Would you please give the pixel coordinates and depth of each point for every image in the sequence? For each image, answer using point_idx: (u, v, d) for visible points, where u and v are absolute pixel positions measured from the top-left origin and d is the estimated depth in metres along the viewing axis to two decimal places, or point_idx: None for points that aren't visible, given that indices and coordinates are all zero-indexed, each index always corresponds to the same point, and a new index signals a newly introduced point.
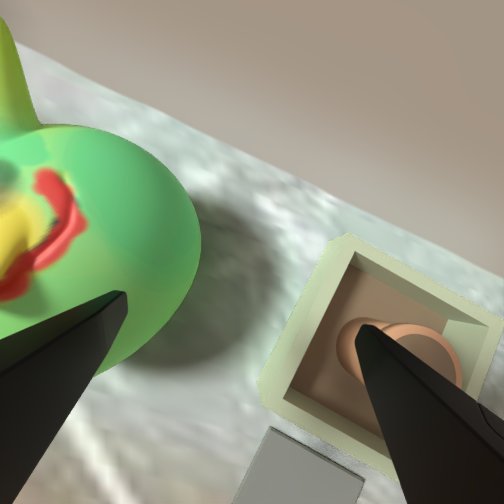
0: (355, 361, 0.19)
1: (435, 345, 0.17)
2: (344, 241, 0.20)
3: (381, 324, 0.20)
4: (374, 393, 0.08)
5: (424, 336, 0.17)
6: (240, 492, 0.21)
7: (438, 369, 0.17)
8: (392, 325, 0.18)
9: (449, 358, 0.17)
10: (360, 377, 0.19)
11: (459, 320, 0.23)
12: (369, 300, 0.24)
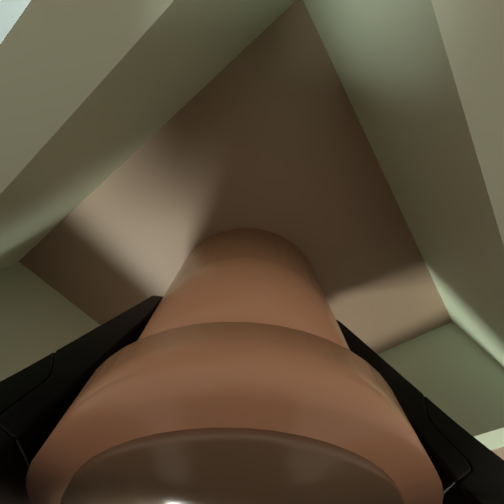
0: None
1: (138, 466, 0.03)
2: None
3: None
4: None
5: (77, 483, 0.03)
6: None
7: (253, 495, 0.03)
8: None
9: (229, 448, 0.03)
10: None
11: None
12: (146, 234, 0.09)
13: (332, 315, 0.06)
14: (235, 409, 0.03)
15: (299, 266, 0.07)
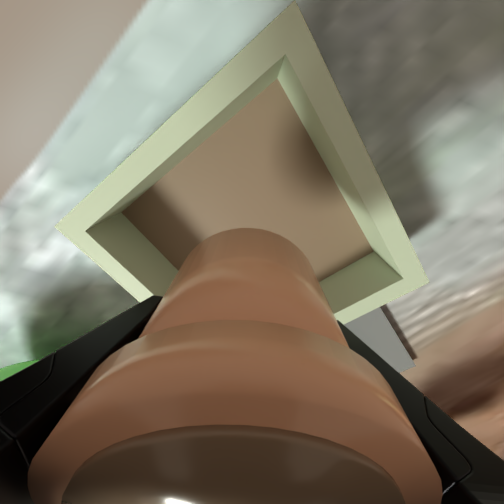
0: None
1: (139, 463, 0.03)
2: (67, 237, 0.14)
3: None
4: None
5: (78, 480, 0.03)
6: None
7: (253, 492, 0.03)
8: None
9: (229, 445, 0.03)
10: None
11: (273, 76, 0.12)
12: (196, 195, 0.16)
13: (332, 314, 0.06)
14: (235, 406, 0.03)
15: (299, 265, 0.07)
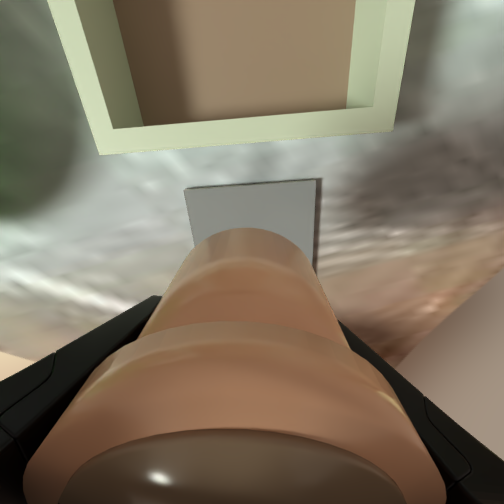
0: None
1: (136, 468, 0.03)
2: None
3: None
4: None
5: (74, 485, 0.03)
6: None
7: (253, 497, 0.03)
8: None
9: (229, 449, 0.03)
10: None
11: None
12: None
13: (333, 315, 0.06)
14: (235, 410, 0.03)
15: (300, 265, 0.07)
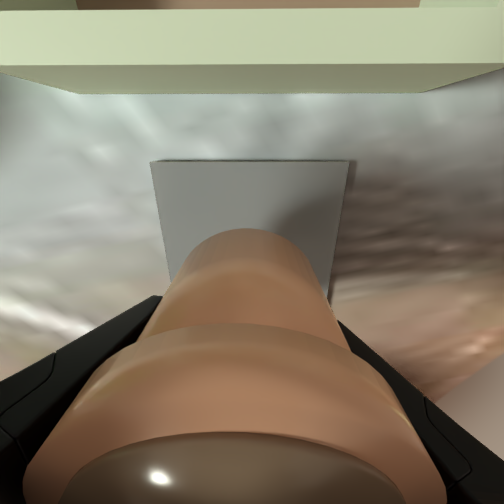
0: None
1: (136, 470, 0.03)
2: None
3: None
4: None
5: (74, 487, 0.03)
6: (168, 262, 0.14)
7: (253, 499, 0.03)
8: None
9: (229, 453, 0.03)
10: None
11: None
12: None
13: (333, 316, 0.06)
14: (235, 413, 0.03)
15: (300, 266, 0.07)
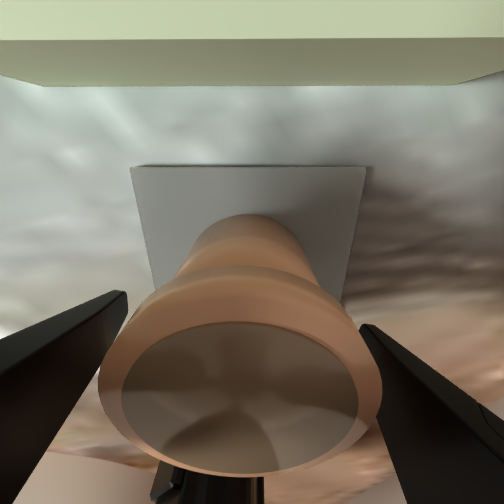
0: None
1: (179, 349, 0.05)
2: None
3: None
4: None
5: (137, 365, 0.05)
6: (155, 282, 0.12)
7: (252, 374, 0.05)
8: None
9: (237, 333, 0.04)
10: None
11: None
12: None
13: (315, 278, 0.08)
14: (241, 306, 0.04)
15: (290, 243, 0.09)
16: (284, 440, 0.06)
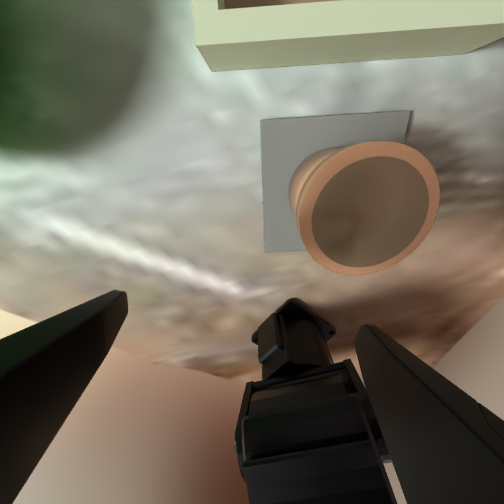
0: None
1: (350, 173, 0.11)
2: None
3: (299, 192, 0.14)
4: (374, 393, 0.08)
5: (329, 183, 0.11)
6: (264, 203, 0.18)
7: (381, 186, 0.11)
8: (297, 206, 0.12)
9: (380, 160, 0.10)
10: None
11: None
12: None
13: None
14: (382, 147, 0.10)
15: None
16: (388, 236, 0.12)
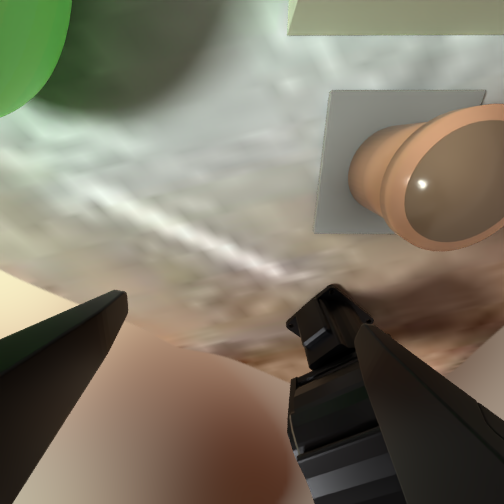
0: None
1: (461, 136, 0.10)
2: None
3: (378, 163, 0.13)
4: (374, 393, 0.08)
5: (436, 146, 0.10)
6: (321, 180, 0.18)
7: (488, 153, 0.10)
8: (388, 173, 0.12)
9: (494, 124, 0.10)
10: None
11: None
12: None
13: None
14: (498, 110, 0.10)
15: None
16: (481, 210, 0.11)
